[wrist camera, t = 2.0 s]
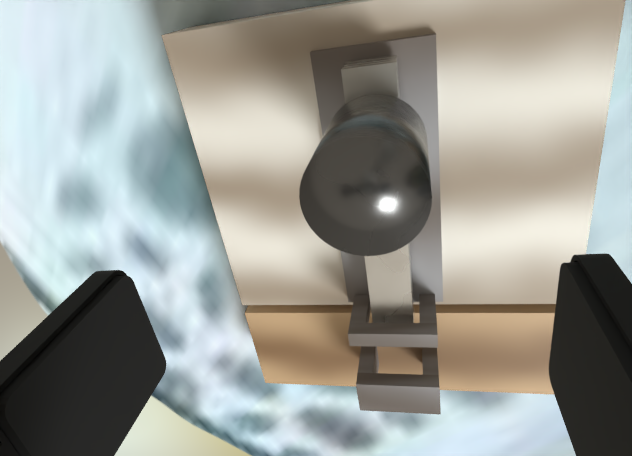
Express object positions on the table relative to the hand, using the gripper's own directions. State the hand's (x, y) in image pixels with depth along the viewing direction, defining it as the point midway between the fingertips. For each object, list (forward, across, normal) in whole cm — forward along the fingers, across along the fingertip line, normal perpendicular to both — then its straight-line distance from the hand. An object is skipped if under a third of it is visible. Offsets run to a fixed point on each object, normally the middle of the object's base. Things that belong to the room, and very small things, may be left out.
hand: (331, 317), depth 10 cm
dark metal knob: (+11, 0, +3) cm, 12 cm away
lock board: (+15, 0, +5) cm, 16 cm away
